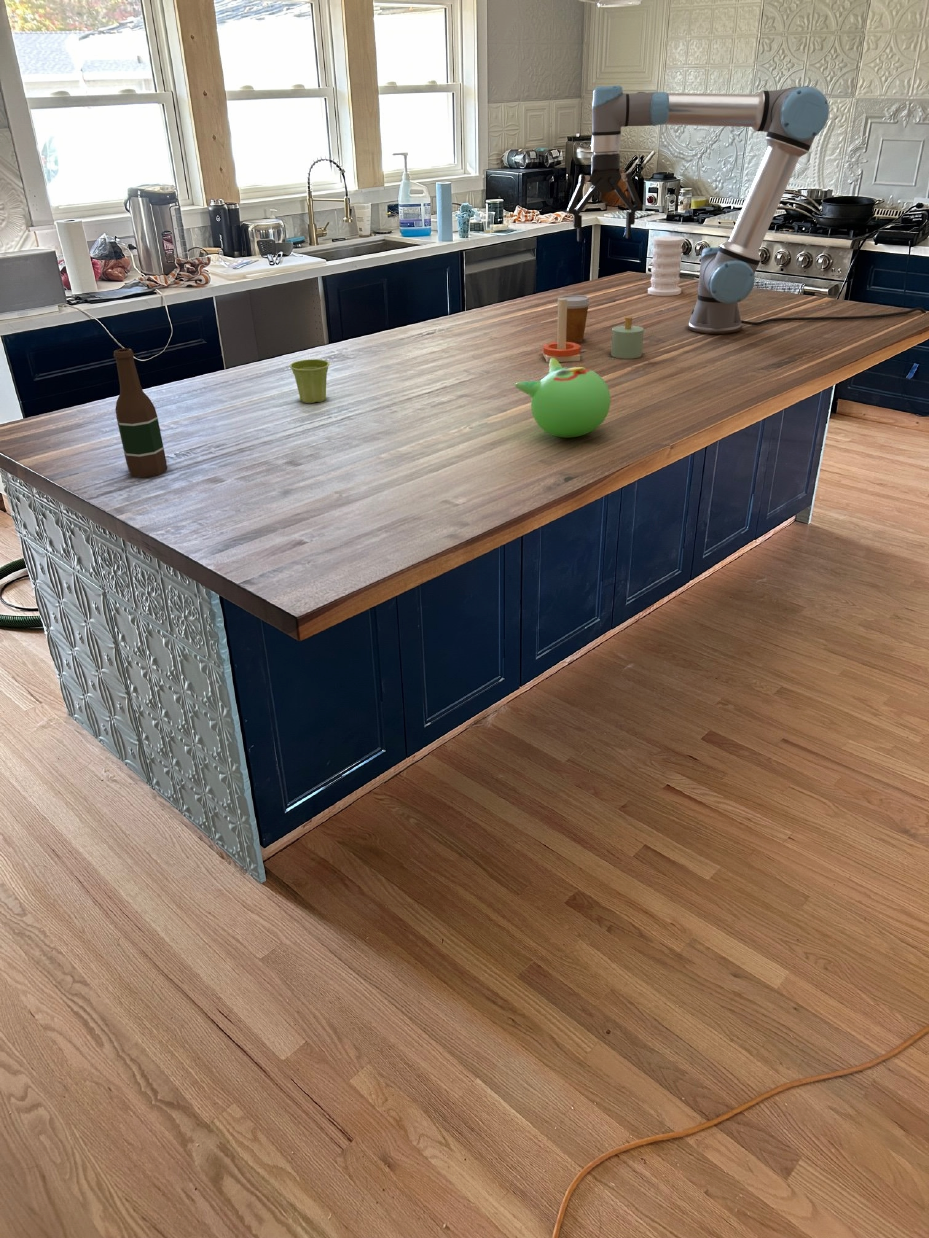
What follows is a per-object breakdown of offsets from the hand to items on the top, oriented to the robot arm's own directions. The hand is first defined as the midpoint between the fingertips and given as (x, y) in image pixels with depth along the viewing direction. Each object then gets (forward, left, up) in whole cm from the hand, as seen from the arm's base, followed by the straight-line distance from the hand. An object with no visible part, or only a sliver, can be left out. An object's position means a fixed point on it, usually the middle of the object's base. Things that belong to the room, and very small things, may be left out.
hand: (603, 239), depth 254 cm
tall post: (+14, +17, -28) cm, 35 cm away
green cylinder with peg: (-4, +17, -28) cm, 33 cm away
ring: (+14, +17, -26) cm, 34 cm away
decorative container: (-35, -67, -28) cm, 81 cm away
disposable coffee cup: (+8, -2, -28) cm, 29 cm away
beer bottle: (+108, +92, -28) cm, 144 cm away
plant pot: (+79, +47, -28) cm, 96 cm away
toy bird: (+22, +81, -28) cm, 88 cm away
